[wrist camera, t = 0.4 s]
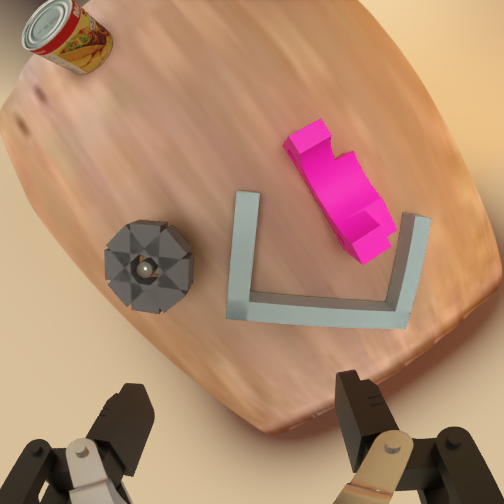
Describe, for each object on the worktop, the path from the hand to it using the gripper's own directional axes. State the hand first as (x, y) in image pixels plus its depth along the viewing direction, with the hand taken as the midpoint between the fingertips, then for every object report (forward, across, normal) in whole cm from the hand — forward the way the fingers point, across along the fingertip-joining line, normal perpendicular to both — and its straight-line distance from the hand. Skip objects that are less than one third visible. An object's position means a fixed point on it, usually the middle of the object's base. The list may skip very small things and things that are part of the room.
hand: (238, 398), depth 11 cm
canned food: (+27, +20, -32) cm, 46 cm away
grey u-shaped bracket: (+27, -9, +3) cm, 28 cm away
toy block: (+27, -11, -6) cm, 30 cm away
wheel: (+20, +10, -1) cm, 22 cm away
